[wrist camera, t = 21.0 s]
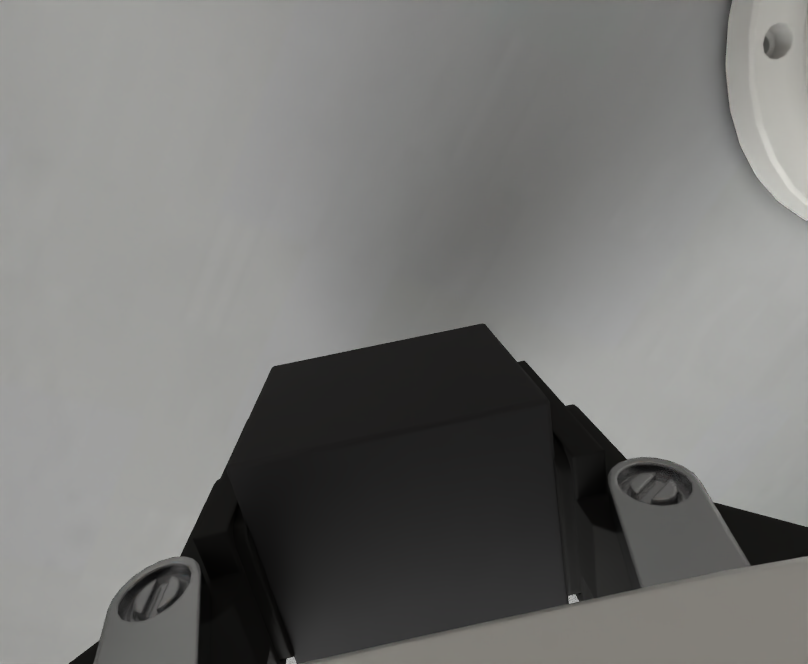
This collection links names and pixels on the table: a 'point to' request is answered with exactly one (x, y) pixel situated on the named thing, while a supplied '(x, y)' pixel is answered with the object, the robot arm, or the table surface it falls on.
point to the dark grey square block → (401, 492)
